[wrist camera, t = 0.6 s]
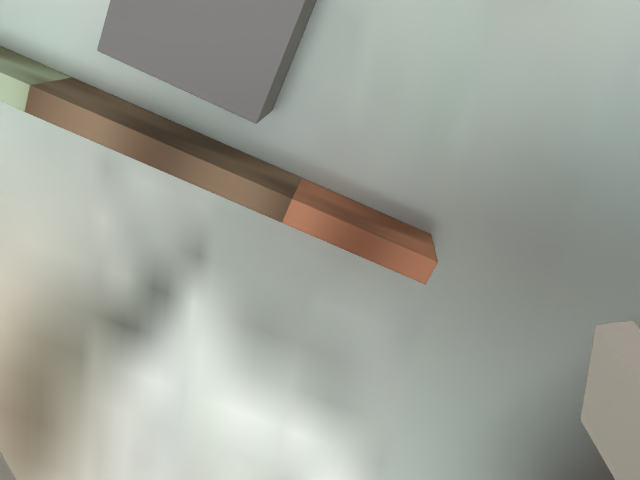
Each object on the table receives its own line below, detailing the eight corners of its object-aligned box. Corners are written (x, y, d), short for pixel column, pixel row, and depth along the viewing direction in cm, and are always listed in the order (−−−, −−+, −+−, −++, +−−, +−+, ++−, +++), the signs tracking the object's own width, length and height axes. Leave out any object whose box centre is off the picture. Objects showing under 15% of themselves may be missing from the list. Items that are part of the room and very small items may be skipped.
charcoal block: (333, -40, 24) (325, -51, 21) (272, 109, 27) (256, 123, 23) (183, -113, 24) (147, -138, 20) (136, 46, 27) (96, 50, 23)
